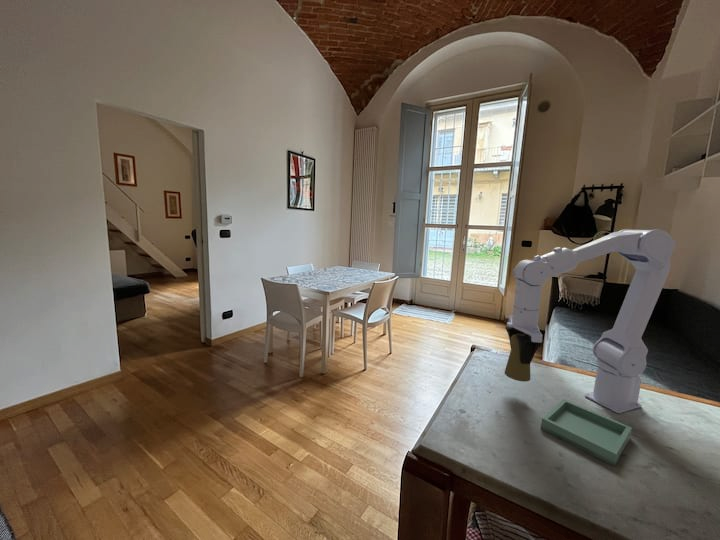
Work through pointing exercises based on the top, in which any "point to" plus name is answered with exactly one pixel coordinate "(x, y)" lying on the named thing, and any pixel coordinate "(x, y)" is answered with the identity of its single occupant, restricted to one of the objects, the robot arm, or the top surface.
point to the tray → (587, 430)
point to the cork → (516, 363)
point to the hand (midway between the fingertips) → (520, 358)
